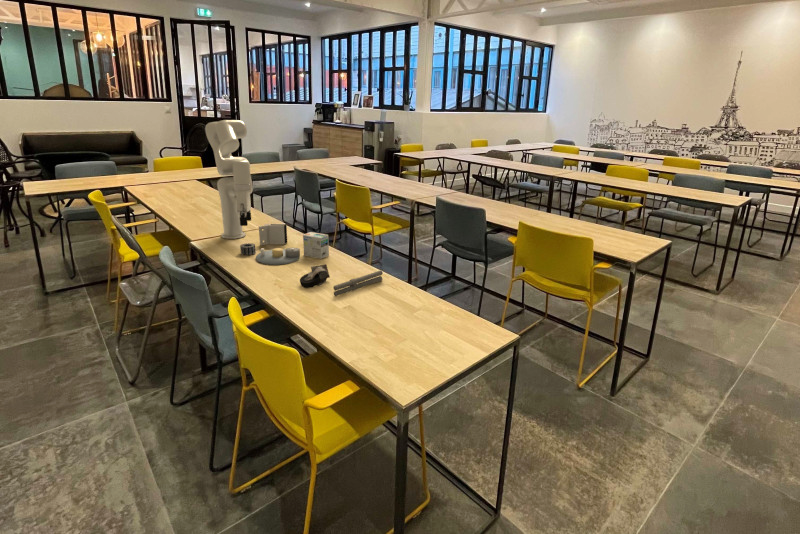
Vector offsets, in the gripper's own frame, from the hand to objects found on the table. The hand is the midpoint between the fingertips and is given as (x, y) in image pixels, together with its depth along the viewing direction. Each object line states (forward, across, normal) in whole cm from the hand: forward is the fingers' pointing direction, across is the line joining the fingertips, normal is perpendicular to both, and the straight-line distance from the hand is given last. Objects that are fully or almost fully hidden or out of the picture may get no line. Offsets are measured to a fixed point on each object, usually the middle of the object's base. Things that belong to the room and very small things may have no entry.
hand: (245, 222), depth 219 cm
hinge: (+15, -16, +10) cm, 24 cm away
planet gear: (+15, 0, 0) cm, 15 cm away
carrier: (+16, +6, +15) cm, 22 cm away
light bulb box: (+16, +4, +33) cm, 37 cm away
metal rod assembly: (+17, +44, +52) cm, 70 cm away
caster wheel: (+16, +40, +34) cm, 55 cm away
